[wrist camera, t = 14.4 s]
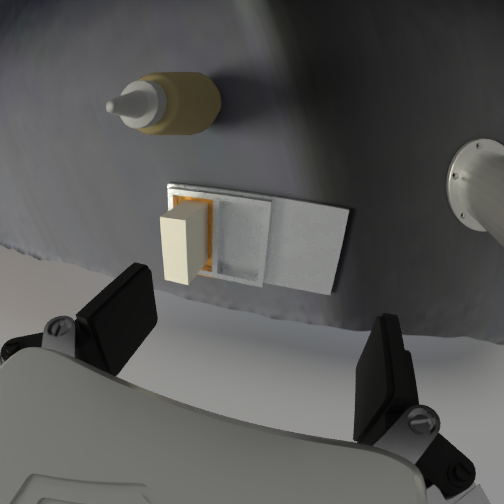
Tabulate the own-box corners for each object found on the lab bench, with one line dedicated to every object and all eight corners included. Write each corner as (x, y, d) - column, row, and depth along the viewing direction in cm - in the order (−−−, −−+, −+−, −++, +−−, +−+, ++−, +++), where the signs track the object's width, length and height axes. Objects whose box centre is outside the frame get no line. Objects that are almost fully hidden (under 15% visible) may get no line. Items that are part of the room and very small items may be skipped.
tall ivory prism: (208, 202, 40) (185, 220, 34) (208, 260, 44) (188, 285, 38) (185, 199, 41) (160, 216, 35) (187, 256, 45) (165, 279, 39)
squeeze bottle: (231, 131, 36) (155, 150, 20) (175, 134, 38) (82, 158, 22) (229, 71, 32) (150, 48, 17) (173, 78, 34) (77, 72, 19)
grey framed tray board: (348, 208, 36) (349, 214, 34) (330, 292, 43) (329, 301, 40) (170, 182, 41) (162, 186, 39) (173, 260, 47) (166, 267, 45)
